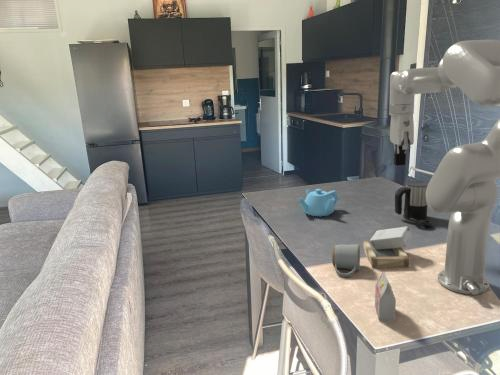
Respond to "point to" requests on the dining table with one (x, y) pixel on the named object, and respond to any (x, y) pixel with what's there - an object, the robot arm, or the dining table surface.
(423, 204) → the black and silver appliance
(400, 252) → the wooden tray
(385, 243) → the skincare box
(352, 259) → the ceramic mug
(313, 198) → the teapot
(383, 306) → the tea bag
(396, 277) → the dining table surface
